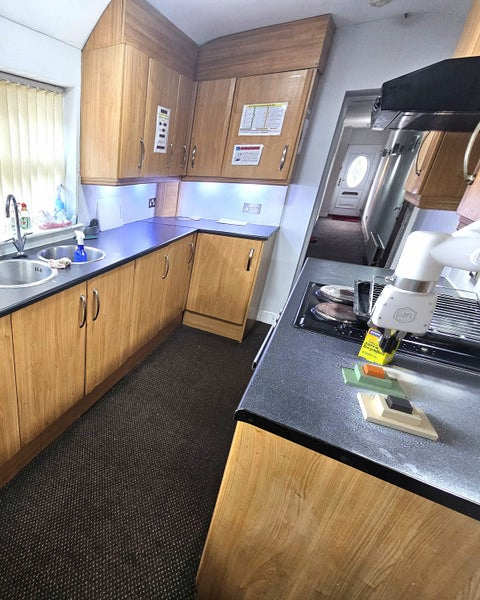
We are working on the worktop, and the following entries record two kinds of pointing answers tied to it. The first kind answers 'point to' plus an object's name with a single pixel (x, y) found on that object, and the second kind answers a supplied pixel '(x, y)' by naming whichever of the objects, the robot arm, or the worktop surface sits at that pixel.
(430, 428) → the cream flat stepped block
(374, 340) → the supplement box
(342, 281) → the worktop surface
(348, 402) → the worktop surface
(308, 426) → the worktop surface
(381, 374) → the key
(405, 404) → the key
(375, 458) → the worktop surface
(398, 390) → the green flat stepped block
